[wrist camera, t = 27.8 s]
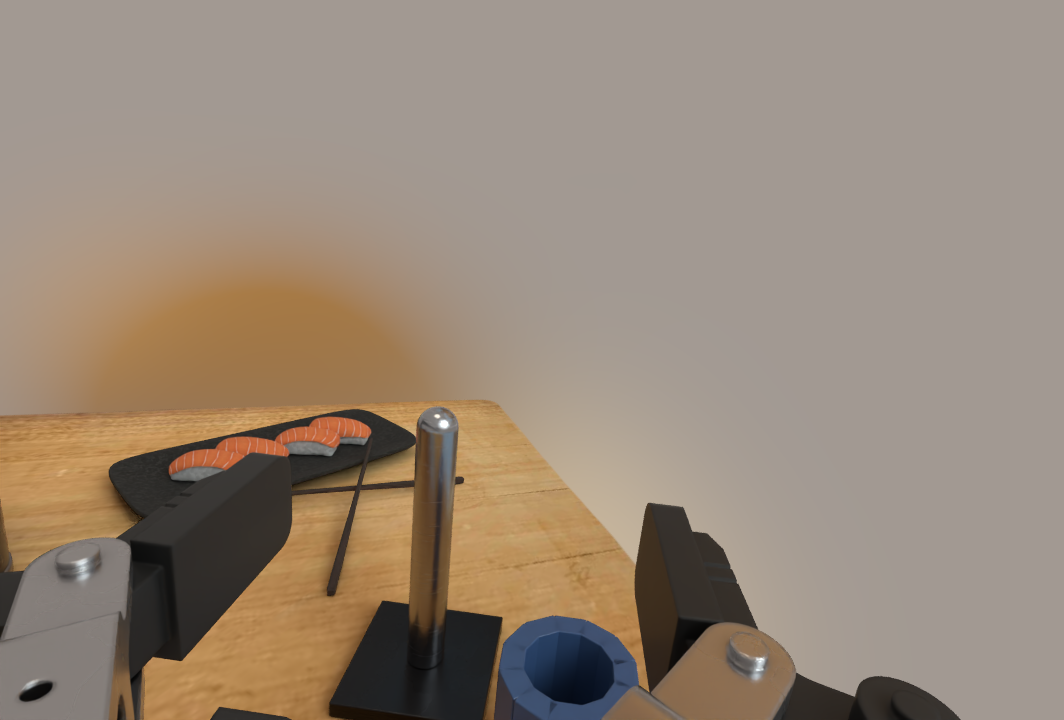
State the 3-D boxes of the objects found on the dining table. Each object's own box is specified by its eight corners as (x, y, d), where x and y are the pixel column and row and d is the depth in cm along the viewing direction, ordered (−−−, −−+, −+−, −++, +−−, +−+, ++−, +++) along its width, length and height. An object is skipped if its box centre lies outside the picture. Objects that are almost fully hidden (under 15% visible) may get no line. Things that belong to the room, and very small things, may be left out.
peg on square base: (328, 716, 32) (328, 427, 28) (382, 611, 41) (388, 377, 36) (480, 740, 32) (505, 448, 27) (501, 628, 40) (523, 392, 36)
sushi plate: (360, 418, 76) (360, 392, 75) (520, 505, 58) (523, 471, 57) (100, 480, 55) (96, 445, 54) (222, 650, 36) (219, 600, 35)
